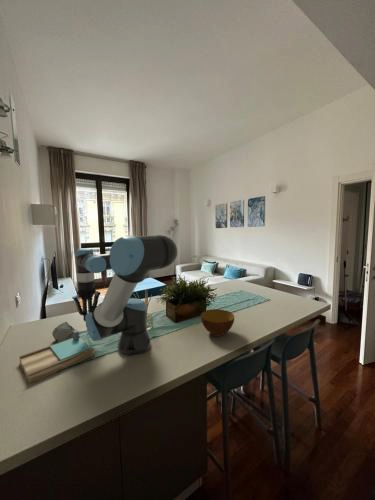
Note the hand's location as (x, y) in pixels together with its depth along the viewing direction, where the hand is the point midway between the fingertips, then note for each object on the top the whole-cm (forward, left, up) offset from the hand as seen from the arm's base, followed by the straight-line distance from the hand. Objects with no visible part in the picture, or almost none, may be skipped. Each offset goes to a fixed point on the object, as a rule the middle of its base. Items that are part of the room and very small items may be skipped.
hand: (88, 326), depth 109 cm
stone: (+11, +9, -8) cm, 16 cm away
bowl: (-42, -50, -8) cm, 66 cm away
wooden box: (-5, +16, -8) cm, 18 cm away
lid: (-5, +11, -5) cm, 13 cm away
